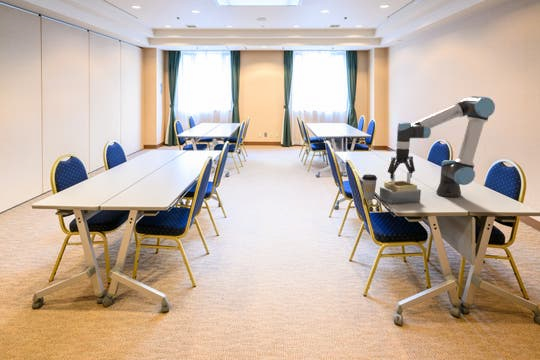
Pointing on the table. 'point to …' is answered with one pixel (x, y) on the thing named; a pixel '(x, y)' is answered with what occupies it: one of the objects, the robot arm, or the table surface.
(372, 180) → the coffee cup
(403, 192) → the open square box
